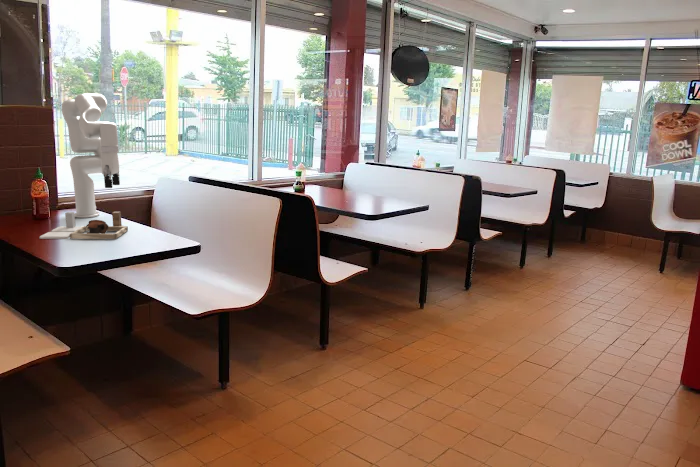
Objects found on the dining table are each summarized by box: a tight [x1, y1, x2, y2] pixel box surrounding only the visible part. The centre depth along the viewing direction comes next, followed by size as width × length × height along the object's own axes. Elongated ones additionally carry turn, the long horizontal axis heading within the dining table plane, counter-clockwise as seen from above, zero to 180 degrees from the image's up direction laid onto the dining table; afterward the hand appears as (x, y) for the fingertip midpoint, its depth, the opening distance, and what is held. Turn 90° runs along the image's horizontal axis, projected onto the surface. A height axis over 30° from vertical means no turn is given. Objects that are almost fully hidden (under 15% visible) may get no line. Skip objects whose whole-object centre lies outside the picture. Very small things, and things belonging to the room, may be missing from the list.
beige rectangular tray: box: [69, 211, 129, 240], centre depth 274 cm, size 24×20×8 cm
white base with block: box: [39, 211, 83, 240], centre depth 273 cm, size 21×12×8 cm, turn 3°
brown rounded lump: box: [85, 219, 109, 234], centre depth 271 cm, size 12×10×8 cm
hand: (112, 186), depth 279 cm, fingers open, 9 cm apart
